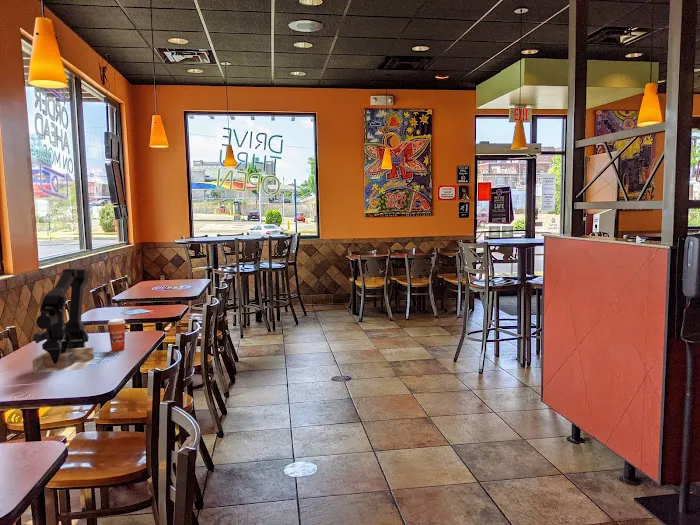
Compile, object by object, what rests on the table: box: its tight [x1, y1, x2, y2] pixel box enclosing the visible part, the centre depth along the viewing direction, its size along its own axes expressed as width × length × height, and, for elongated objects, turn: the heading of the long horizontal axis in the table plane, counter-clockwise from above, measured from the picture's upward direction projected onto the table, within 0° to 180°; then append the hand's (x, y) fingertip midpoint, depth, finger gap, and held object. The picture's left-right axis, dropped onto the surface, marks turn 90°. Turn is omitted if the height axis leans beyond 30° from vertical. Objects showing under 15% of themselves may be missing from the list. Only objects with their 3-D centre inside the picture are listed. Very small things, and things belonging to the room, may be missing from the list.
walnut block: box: [43, 353, 74, 367], centre depth 222 cm, size 5×10×5 cm, turn 90°
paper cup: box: [107, 318, 126, 352], centre depth 248 cm, size 8×8×14 cm
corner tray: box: [31, 346, 95, 374], centre depth 222 cm, size 19×17×6 cm
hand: (58, 360), depth 222 cm, fingers open, 9 cm apart
